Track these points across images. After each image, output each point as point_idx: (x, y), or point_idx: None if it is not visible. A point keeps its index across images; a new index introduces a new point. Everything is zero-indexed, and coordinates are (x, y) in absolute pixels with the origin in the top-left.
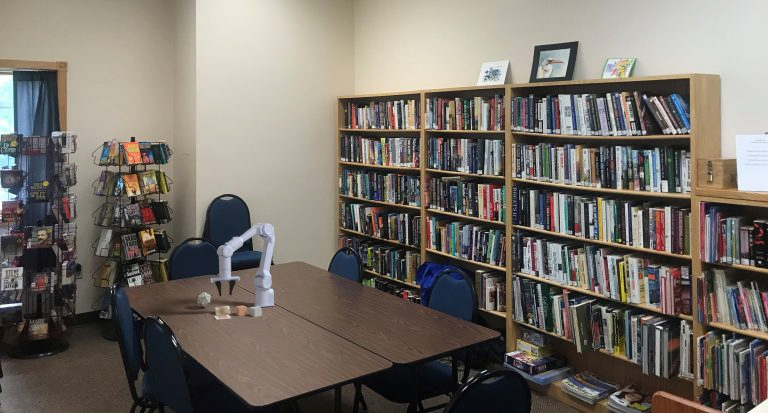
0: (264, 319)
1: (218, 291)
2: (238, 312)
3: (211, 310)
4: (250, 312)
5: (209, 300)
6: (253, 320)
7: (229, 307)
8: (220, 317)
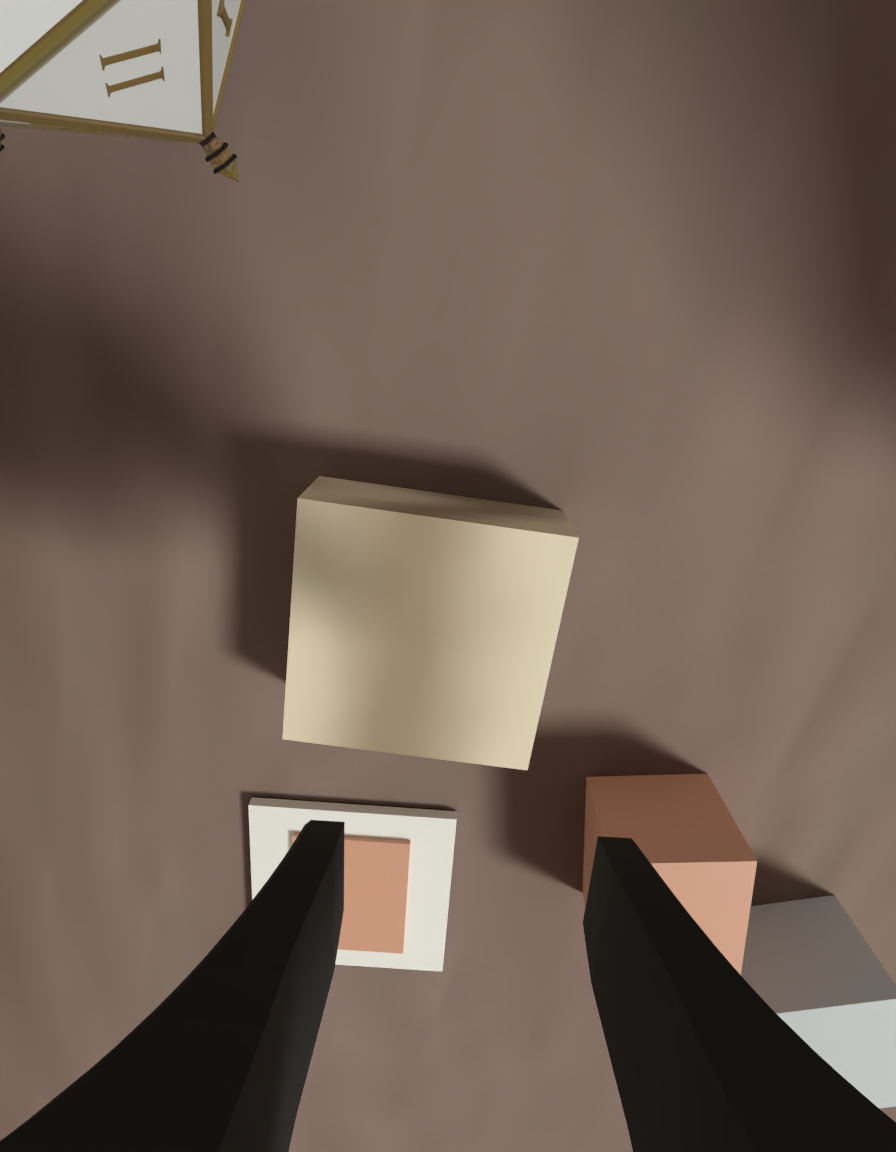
0: None
1: (253, 908)
2: None
3: (281, 307)
4: None
5: (188, 84)
6: None
7: (539, 689)
8: None
